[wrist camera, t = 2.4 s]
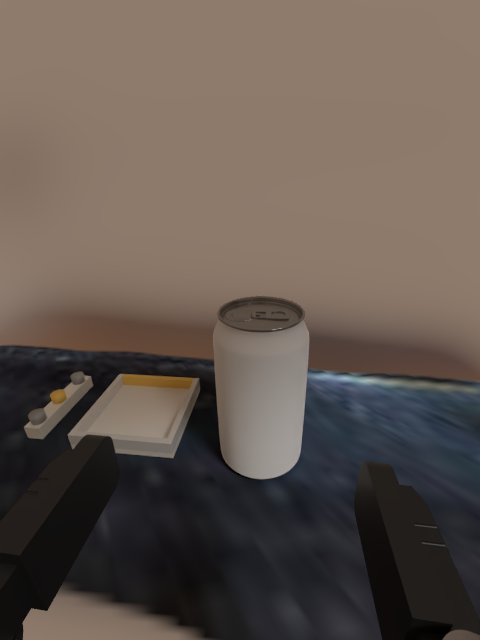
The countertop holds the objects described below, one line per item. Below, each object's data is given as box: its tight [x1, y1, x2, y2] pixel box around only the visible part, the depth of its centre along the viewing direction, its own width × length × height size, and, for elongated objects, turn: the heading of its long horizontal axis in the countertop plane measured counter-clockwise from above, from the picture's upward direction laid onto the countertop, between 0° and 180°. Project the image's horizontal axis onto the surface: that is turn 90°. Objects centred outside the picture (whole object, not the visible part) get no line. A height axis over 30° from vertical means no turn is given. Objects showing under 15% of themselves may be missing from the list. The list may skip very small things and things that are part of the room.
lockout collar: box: [68, 374, 200, 458], centre depth 28 cm, size 9×9×2 cm
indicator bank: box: [24, 372, 93, 439], centre depth 29 cm, size 1×8×2 cm, turn 173°
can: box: [213, 296, 309, 479], centre depth 22 cm, size 6×6×12 cm
